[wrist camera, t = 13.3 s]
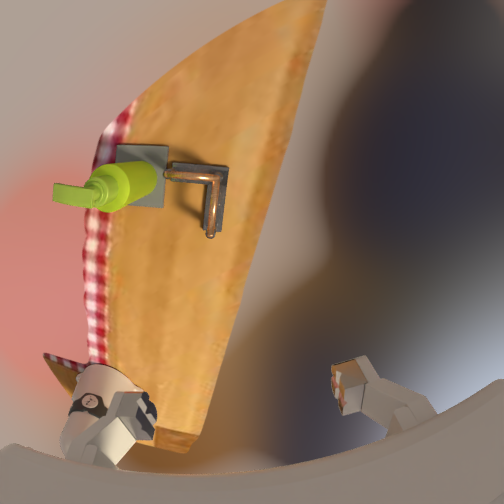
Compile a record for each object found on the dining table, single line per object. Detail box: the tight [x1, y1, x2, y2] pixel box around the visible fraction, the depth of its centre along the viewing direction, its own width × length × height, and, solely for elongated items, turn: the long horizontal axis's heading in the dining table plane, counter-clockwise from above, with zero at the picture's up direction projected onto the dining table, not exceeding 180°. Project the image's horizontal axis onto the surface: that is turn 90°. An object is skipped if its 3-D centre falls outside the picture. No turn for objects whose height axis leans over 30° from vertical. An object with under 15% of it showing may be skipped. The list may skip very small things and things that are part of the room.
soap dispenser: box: [53, 161, 157, 212], centre depth 33 cm, size 6×7×20 cm
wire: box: [163, 162, 229, 239], centre depth 41 cm, size 10×9×6 cm
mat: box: [115, 145, 169, 208], centre depth 42 cm, size 10×9×1 cm
